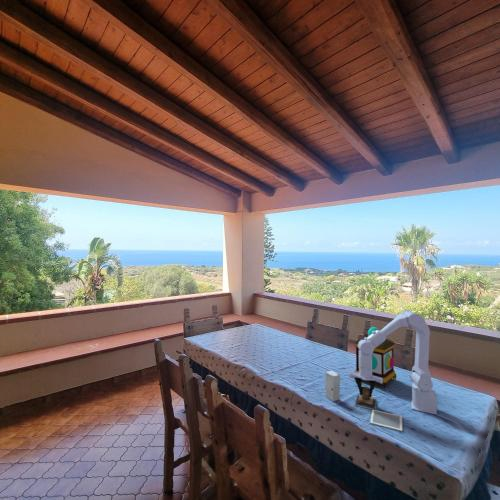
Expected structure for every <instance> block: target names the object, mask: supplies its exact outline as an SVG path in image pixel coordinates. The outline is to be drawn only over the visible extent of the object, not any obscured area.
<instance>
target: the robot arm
mask: <svg viewBox="0 0 500 500" xmlns="http://www.w3.org/2000/svg"><path fill="white" fill-rule="evenodd" d="M401 327H403V328H404V327H405V328H409V327H411V328H412V329H413V330H414V331H415V332H416V333H415V350H414V351H415V352H414V365H413V366H412V367H411V368H412V370H411V372H409V379H410V380H411V382H412V384H411V393H412V395H411V398H412V399H411V401H410V403H411V410H413V411H418V412H423V413H427V414H432V415H438V413H437V408H438V405H437V393H436V390H434V389H433V387H434V383H433V381H432V374H431V372H430V370H429V357H430V356H429V355H430V336H431V333H430V329H431V328H430V327H429V326H428V324H427V322H426V319H425V317H424V316H423V315H421V314H419V313H418V312H415V311H412V310H411V309H410V310H409V309H406V310H403V311H402V312H401V313H399V314H397V316H395V317H394V318H393V320H391V321H390V322H389V323H387V325H385V326H384V327H383V328H382V329H381V330H380V329H379V330H376V331H372V334H371V335H369V336H368V337H367V338H366V337H365V336H364V337H365V338H364V339H365V340H361V341H359V344H358V345H357V346H358V348H359V373H354V372H351V371H350V372H349V374H348V375H349V378H350V379H351V378H352V379H354V378H356V380H355V379H354V382H355V384H356V386H357V387H358V388H357V389H358V390H359V396H360V395H362V387H363V381H369V388H370V397H373V396H372V395H373V391H374V389H375V387H376V385H377V383H379V384H381V385H382V383H383V378H380V377H377V376H373V375H372V353H373V351H374V348H376V347H377V346H379V345H380V344H381V343H383V342H384V341H385V340H386V339H387V336H388V335H390V334H392V333H393V332H394V331H396V330H397V329H400V328H401Z"/></svg>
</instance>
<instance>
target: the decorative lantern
mask: <svg viewBox="0 0 500 500" xmlns="http://www.w3.org/2000/svg"><path fill="white" fill-rule="evenodd" d="M376 330H380V329H379V328H378V327H376V326H372V327H370V328H369V329H368V331H367V334H366V335H365V336H364V337H362V338H359V339H358V340H356V341H355V342H354V343H353V344H354V345H353V346H354V347H355V358H356V359H355V362H356V363H355V371H354V372H353V373H359V348H358V346H357V345H358V344H359V341H361V340H365V339H364V338H365V337H366V338H367V337H368V336H369V335H371V334H372V331H376ZM395 346H396V343H395V342H394V341H392V340H391V339H388V338H386V340H385V341H384V342H383V343H381V344H380V345H379V346H377V347H376V348H374V351H373V353H372V375H373V376H377V377H380V378H383V383H382V384H381V385H382V389H384V390H386V389H387V383H389V382H390V381H391V380H392V379H393V381H396V380H397V373H396V371H395V368H394V365H395V359H394V348H395ZM353 379H354V381H355V380H356V378H353Z"/></svg>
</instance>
